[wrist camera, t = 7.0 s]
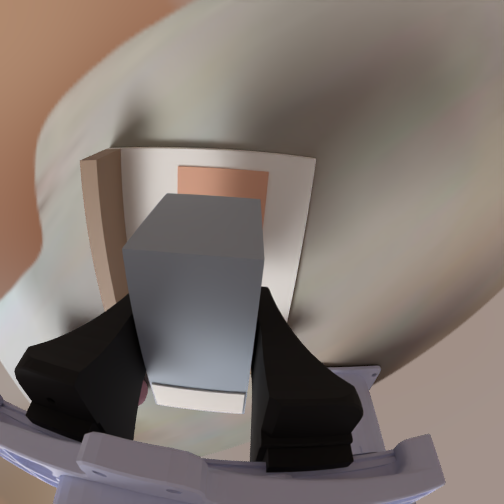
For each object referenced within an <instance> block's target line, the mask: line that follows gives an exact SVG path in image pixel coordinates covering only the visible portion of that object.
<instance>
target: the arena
mask: <svg viewBox="0 0 504 504" xmlns="http://www.w3.org/2000/svg"><path fill="white" fill-rule="evenodd" d="M315 165H316V159H315V158H312V157H304V156H296V155H288V154H279V153H269V152H258V151H246V150H232V149H215V148H191V147H118V148H108V149H105V150H103V151H101V152H98V153H96V154H94V155H92V156H89V157H87V158H85V159H83V160H80V168H81V180H82V190H83V199H84V208H85V215H86V222H87V229H88V235H89V241H90V247H91V252H92V258H93V263H94V268H95V272H96V277H97V282H98V286H99V290H100V294H101V299H102V302H103V306H104V310H105V311H107V310H108V309H109V308H111V307H112V306H113V305H115V304H116V303H117V302H118V301H120V300H121V299H122V298H123V297H125V296H126V295H127V294H128V293H129V291H128V285H127V279H126V273H125V266H124V260H123V252H122V248H123V246H124V245H125V244H126V243H127V241H128V240H129V239H130V237H131V236H132V235H133V234H134V232H135V231H136V230H137V228H138V227H139V226H140V225H141V223H142V222H143V221H144V220H145V219H146V217H147V216H148V215H149V214H150V212H151V211H152V210H153V209H154V208H155V206H156V205H157V204H158V203H159V202H160V200H161V199H162V198H163V197H164V196H165V195H166V193H174V194H194V195H211V196H226V197H239V198H252V199H260V200H261V214H262V228H263V243H264V258H265V261H264V269H263V277H262V285H261V286H263V287H268V288H269V289H270V292H271V295H272V297H273V299H274V301H275V303H276V305H277V307H278V309H279V311H280V312H281V314H282V316H283V317H284V319H285V321H286V322H287V320H288V315H289V310H290V305H291V301H292V296H293V291H294V286H295V281H296V276H297V270H298V265H299V260H300V254H301V249H302V244H303V238H304V232H305V227H306V221H307V215H308V209H309V203H310V197H311V191H312V184H313V178H314V171H315ZM250 374H251V368H250Z"/></svg>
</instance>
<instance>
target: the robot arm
mask: <svg viewBox="0 0 504 504" xmlns="http://www.w3.org/2000/svg"><path fill="white" fill-rule="evenodd" d="M380 371H381V368H380V366H359V367H326V366H325V365H323V364H322V363H321V362H320V361H319V360H318V359H317V358H316V357H315V356H314V355H312V354H311V352H310V351H309V350H308V349H307V348H306V347H305V346H304V345H303V344H302V342H301V341H300V340H299V339H298V338H297V336H296V335H295V334H294V332H293V331H292V330H291V328H290V327H289V325H288V324H287V322H286V321H285V319H284V317H283V316H282V314H281V312H280V311H279V309H278V307H277V305H276V303H275V301H274V299H273V297H272V295H271V292H270V289H269V288H268V287H263V286H261V293H260V300H259V308H258V316H257V323H256V331H255V339H254V346H253V354H252V361H251V377H252V418H251V446H250V447H251V448H250V462H247V461H246V462H245V461H244V462H243V461H228V460H215V459H205V458H201V457H200V456H197V455H195V454H192V453H190V452H187V451H183V450H179V449H174V448H169V447H163V446H157V445H152V444H147V443H142V442H137V441H133V439H134V430H135V422H136V415H137V409H138V404H139V398H140V393H141V389H142V384H143V380H144V376H145V373H146V368H145V364H144V360H143V356H142V352H141V348H140V344H139V339H138V335H137V331H136V326H135V321H134V317H133V312H132V307H131V302H130V296H129V293H128V294H127V295H126V296H125V297H123V298H122V299H121V300H120V301H118V302H117V303H116V304H115V305H113V306H112V307H111V308H109V309H108V310H107V311H105V312H104V313H103V314H101V315H100V316H98V317H97V318H95V319H93V320H92V321H90V322H88V323H87V324H85V325H83V326H81V327H79V328H77V329H75V330H73V331H71V332H69V333H67V334H65V335H63V336H60V337H58V338H55V339H53V340H50V341H47V342H44V343H40V344H37V345H34V346H30V347H28V348H27V350H26V352H25V353H24V355H23V356H22V358H21V360H20V361H19V363H18V364H17V366H16V368H15V375H16V379H17V380H18V382H19V384H20V385H21V387H22V388H23V390H24V391H25V392H26V394H27V395H28V396H29V398H30V399H31V400H32V402H31V404H30V406H29V408H28V411H25V410H23V409H21V408H19V407H17V406H15V405H12V404H11V403H9V402H6V401H5V400H3V398H2V396H1V395H0V456H1V457H2V458H4V459H6V460H7V461H9V462H10V463H12V464H14V465H15V466H17V467H19V468H21V469H22V470H24V471H26V472H28V473H29V474H31V475H33V476H35V477H37V478H38V479H40V480H42V481H44V482H46V483H48V484H50V485H52V486H54V487H56V488H57V490H56V494H55V497H54V501H53V504H416V501H417V500H419V499H421V498H423V497H425V496H426V495H428V494H430V493H432V492H433V491H435V490H437V489H438V488H440V487H442V486H443V485H445V479H444V476H443V472H442V469H441V465H440V462H439V460H438V456H437V453H436V450H435V447H434V444H433V441H432V438H431V435H430V434H425V435H422V436H417V437H413V438H409V439H406V440H404V441H402V442H400V443H399V444H398V445H397V446H396V447H395V448H394V449H393V450H388V451H386V450H385V446H384V442H383V439H382V435H381V431H380V428H379V424H378V420H377V417H376V414H375V410H374V406H373V403H372V400H371V396H370V393H369V390H370V388H371V387H372V385H373V383H374V382H375V380H376V378H377V377H378V375H379V373H380Z"/></svg>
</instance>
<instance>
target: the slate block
mask: <svg viewBox="0 0 504 504" xmlns="http://www.w3.org/2000/svg"><path fill="white" fill-rule="evenodd" d="M122 252H123V260H124V266H125V273H126V279H127V285H128V291H129V296H130V302H131V307H132V312H133V317H134V321H135V326H136V331H137V335H138V339H139V344H140V348H141V352H142V356H143V360H144V364H145V368H146V371H147V375H148V379H149V382H150V386H151V389H152V392H153V396H154V399H155V402H156V404H157V405H163V406H170V407H177V408H184V409H192V410H201V411H210V412H221V413H235V414H244V411H245V404H246V397H247V390H248V383H249V376H250V368H251V361H252V354H253V346H254V339H255V331H256V323H257V316H258V308H259V300H260V293H261V285H262V277H263V269H264V261H265V258H264V243H263V228H262V214H261V200H260V199H252V198H239V197H226V196H211V195H194V194H174V193H166V195H165V196H164V197H163V198H162V199H161V200H160V202H159V203H158V204H157V205H156V206H155V208H154V209H153V210H152V211H151V212H150V214H149V215H148V216H147V217H146V219H145V220H144V221H143V222H142V223H141V225H140V226H139V227H138V228H137V230H136V231H135V232H134V234H133V235H132V236H131V237H130V239H129V240H128V241H127V243H126V244H125V245H124V246H123V248H122Z"/></svg>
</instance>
